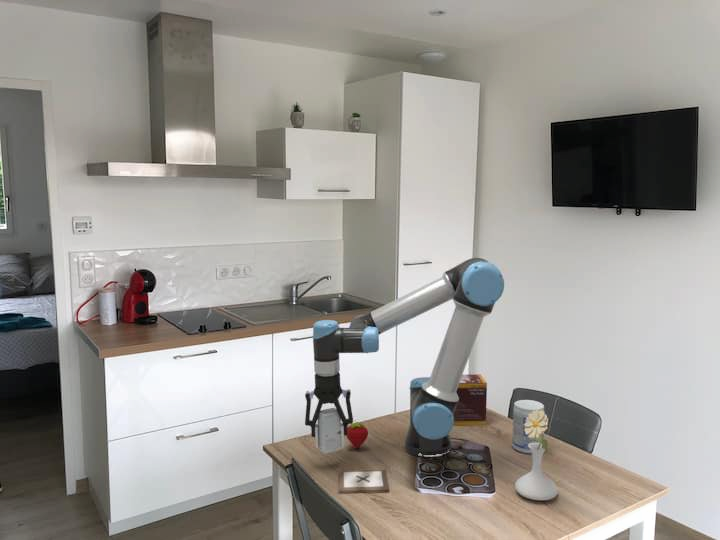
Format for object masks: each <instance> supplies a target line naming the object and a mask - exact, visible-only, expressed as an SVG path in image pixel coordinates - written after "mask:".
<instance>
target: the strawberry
mask: <svg viewBox="0 0 720 540" xmlns="http://www.w3.org/2000/svg"><path fill="white" fill-rule="evenodd" d="M347 431H348V434H347V436H346V438H347V440H348V441H349V442H350V444H351V445H352V446H353V447H354V448H355V449H359V448H360V447H361V446H362V445H363V444H364V443H365V441H366V440H367V438H368V435H369V431H368V428H367V427H366V426H365V425H364V424H363V423H362V422H358V421H355V422H353V423H352V424H350V425H348V426H347Z"/></svg>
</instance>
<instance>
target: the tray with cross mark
mask: <svg viewBox="0 0 720 540" xmlns="http://www.w3.org/2000/svg"><path fill="white" fill-rule="evenodd" d="M368 493H369V494H370V493H371V494H372V493H376V494H377V493H390V486H389V480H388V474H387V470H386V469H354V470H353V469H351V470H338V494H368Z"/></svg>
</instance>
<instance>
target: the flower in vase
mask: <svg viewBox="0 0 720 540" xmlns="http://www.w3.org/2000/svg"><path fill="white" fill-rule="evenodd" d="M524 425H525V426H526V427H525V430H524V431H525V432H526V433H525V434H526V435H527V434H529V435H528V437H529V438H533V439H535V440H536V441H537V442H538V443H536V442H534V443H529V444H528V447H529V448H530V450H531V453H530V454H531V458H532V469H531V471H530V472H528V473H527V474H524V475H522V476H521V477H519V478H518V479H517V480H516V482H515V483H514V488H515V490H516V492H517V493H518V494H519V495H520V496H522V497H524V498H527V499H530V500H534V501H549V500H552V499H553V498H555V497H556V496H557V495H558V493H559V490H558V486H557V485H556V484H555V482H554V481H553V480H551V479H550V478H549V477H547V476H546V475H545V474H544V473H543V471H542V459H543V455H544V453H545V452H546V451H550V448H549V441H548V439H544V438H545V437H544V434H545V432H546V431H547V430H548V425H549V418H548V416H547V414H546V413H545V411H544V412H543V411H542V410H541V411H538V410H536V411H533V412H532V414H529V415H528V417H527V418H526V423H525V424H524ZM541 435H542V441H541V440H540V438H539V437H541Z"/></svg>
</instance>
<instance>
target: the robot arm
mask: <svg viewBox="0 0 720 540" xmlns="http://www.w3.org/2000/svg"><path fill="white" fill-rule="evenodd" d="M504 290H505V279H504V276H503V275H502V272H501V271H500V269H499V268H498V267H497V266H496V265H495V264H493V263H491V262H490V261H488V260H486V259H484V258H480V257H473V258H469V259H467V260H465V261H462V262H461V263H459V264H457V265H456V266H454V267H452V268H450V269H448V270H446V271H444V272H443V273H442V277H440V278H438V279H435V280H433V281H431V282H429V283H427V284H425V285H423V286H421V287H419V288H417V289H414V290H413V291H411V292H409V293H407V294H405V295H403V296H401V297H398V298H396V299H395V300H393V301H391V302H388V303H387V304H385V305H382V306H380V307H377V309H374V310H373V311H370V312H368V313H365V314H364V315H358V316H355V318H353V319H352V321H351V322H350V324H349V327H340V326H339V324H338V323H339V322H338V321H336V320H333V319H331V320H330V319H323V320H318V321H315V322H314V324H313V326H312V343H313V346H312V347H313V348H312V349H313V366H314V367H313V368H314V369H313V370H314V373H315V374H314V389H313V391H312V390H311V391H308V390H307V391H305V394H304V396H305V400H306V408H305V418H304V425H305V426H306V427H310V429H311V430H310V431H311V437H312V438H315V449H319V446H318V416H319V413H320V411H321V410H322V407H323V405H326V404H333V405H334V408H336V409H337V411H338V414H339V416H340V418H341V441H342V448H345V436H346V437H347V434H348V431H347V427H348V426H349V425H351V424H352V423H354V416H353V412H352V411H353V410H352V403H351V394H352V392H351V389H342V387H341V386H342V385H341V373H340V369H341V367H340V364H341V363H340V354H369V353H377V352H378V351H379V349H380V344H379V343H380V339H379V338H380V336H379V335H381V334H383V333H385V332H388V331H389V330H391V329H393V328H396V327H397V326H400V325H402V324H404V323H406V322H408V321H410V320H411V319H414V318H417V317H418V316H420V315H422V314H424V313H426V312H429V311H431V310H433V309H435V308H437V307H440V306H441V305H443V304H445V303H447V302H449V301H451V300H452V301H453V303H454V305H455V308H454V310H453V313H452V316H451V318H450V322H449V324H448V327H447V330H446V332H445V334H444V339H443V341H442V344H441V346H440V348H439V352H438V354H437V357H436V360H435V362H434V366H433V368H432V371H431V373H430V375H429V376H423V377H415V378H413V379H412V380H411V381H410V386H409V399H410V401H409V426H408V430H407V432H406V435H405V438H404V449H405V451H407V453H409V454H411V455H413V456H415V457H419V456H418V454H419V453H421V454H423V455H436V454H442V453H445V452H447V451H448V450H449V449H450V448H451V446H452V439H451V435H450V433H451V431H452V430H453V428H454V427H453V424H454V417H453V414H454V411H455V409H456V406H457V403H458V401H459V397H458V395H457V393H456V391H457V388H458V385H459V383H460V380H461V377H462V375H464V372H465V368H466V367H467V363H468V361H469V359H470V356H471V352H472V350H473V347H474V345H475V342H476V340H477V337H478V334H479V332H480V329H481V327H482V323H483V321H484V318H485V317H486V316H488V315H491V314H492V311H493V308H494V306H495V304H496V302H498V300H499V299H500V298H501V297H502V295H503V293H504ZM341 395H342V396H343V398H345V405H346V409H347V411H346V412H347V416H348V417H347V416H346V415H345V413H344V410H343V408H342V406H341V403H340V401H339V400H340V399H339V398H340V396H341ZM314 396H315V398H316V399H317V400H318V401H317V405H316V408H315V411H314V414H313V417H312V419H311V406H312V399H313V398H314Z"/></svg>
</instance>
